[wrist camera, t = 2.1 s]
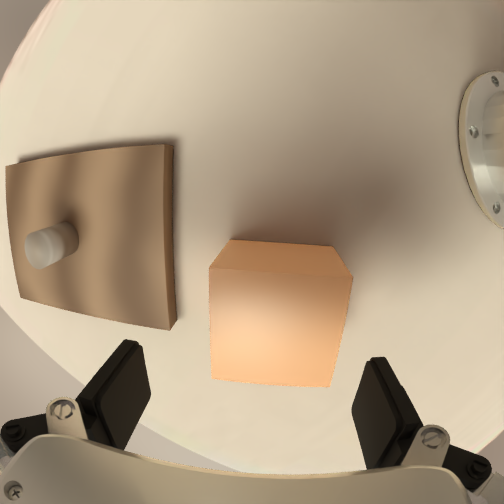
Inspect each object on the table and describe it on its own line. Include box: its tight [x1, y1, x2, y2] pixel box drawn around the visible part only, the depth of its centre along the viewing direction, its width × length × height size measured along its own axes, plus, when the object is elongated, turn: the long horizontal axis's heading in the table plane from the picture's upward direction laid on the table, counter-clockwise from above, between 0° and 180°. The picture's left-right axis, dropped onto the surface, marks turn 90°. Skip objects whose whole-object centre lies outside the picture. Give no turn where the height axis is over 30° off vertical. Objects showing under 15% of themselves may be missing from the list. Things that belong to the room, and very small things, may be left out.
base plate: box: [6, 144, 177, 331], centre depth 17 cm, size 16×12×5 cm
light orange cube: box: [209, 239, 353, 387], centre depth 16 cm, size 6×6×6 cm
